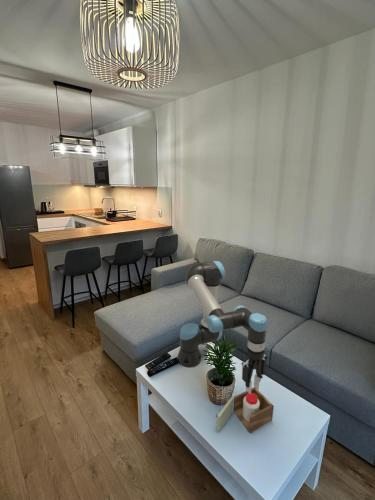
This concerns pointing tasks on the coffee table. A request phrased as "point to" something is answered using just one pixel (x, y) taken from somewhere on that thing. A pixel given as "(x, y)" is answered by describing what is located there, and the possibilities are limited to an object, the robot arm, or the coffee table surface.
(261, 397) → the box
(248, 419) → the pill bottle
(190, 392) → the coffee table surface
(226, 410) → the door
